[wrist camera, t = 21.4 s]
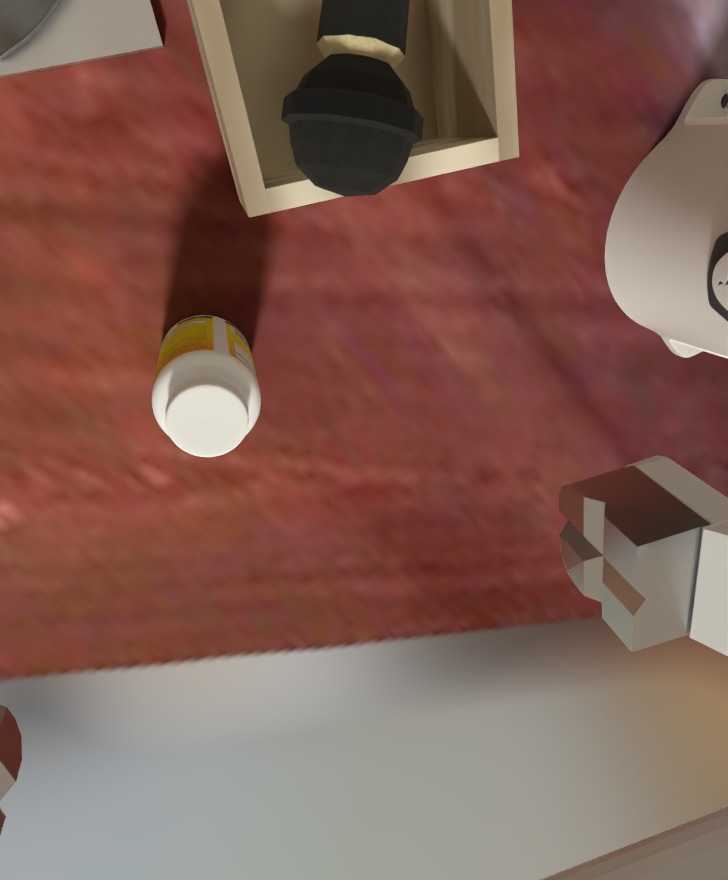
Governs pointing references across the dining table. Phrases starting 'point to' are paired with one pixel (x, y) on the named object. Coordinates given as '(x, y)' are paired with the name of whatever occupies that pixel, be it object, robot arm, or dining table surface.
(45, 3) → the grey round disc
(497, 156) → the open wooden box
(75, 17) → the base
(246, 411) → the supplement bottle
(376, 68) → the microphone
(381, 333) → the dining table surface
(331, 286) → the dining table surface
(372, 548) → the dining table surface
